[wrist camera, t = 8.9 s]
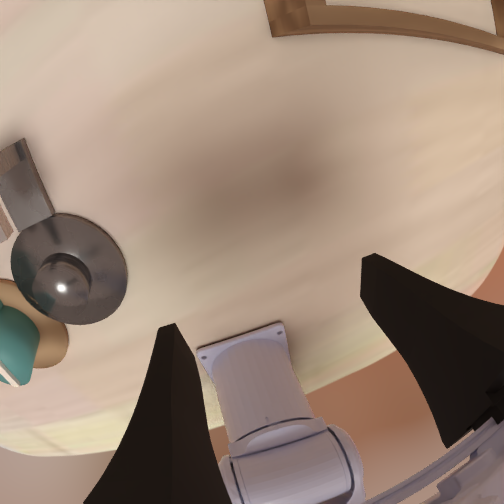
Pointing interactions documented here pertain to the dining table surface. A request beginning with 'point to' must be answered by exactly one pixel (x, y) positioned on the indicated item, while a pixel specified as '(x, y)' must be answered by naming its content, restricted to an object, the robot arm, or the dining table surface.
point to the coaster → (38, 326)
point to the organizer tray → (377, 22)
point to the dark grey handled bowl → (57, 249)
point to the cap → (17, 346)
